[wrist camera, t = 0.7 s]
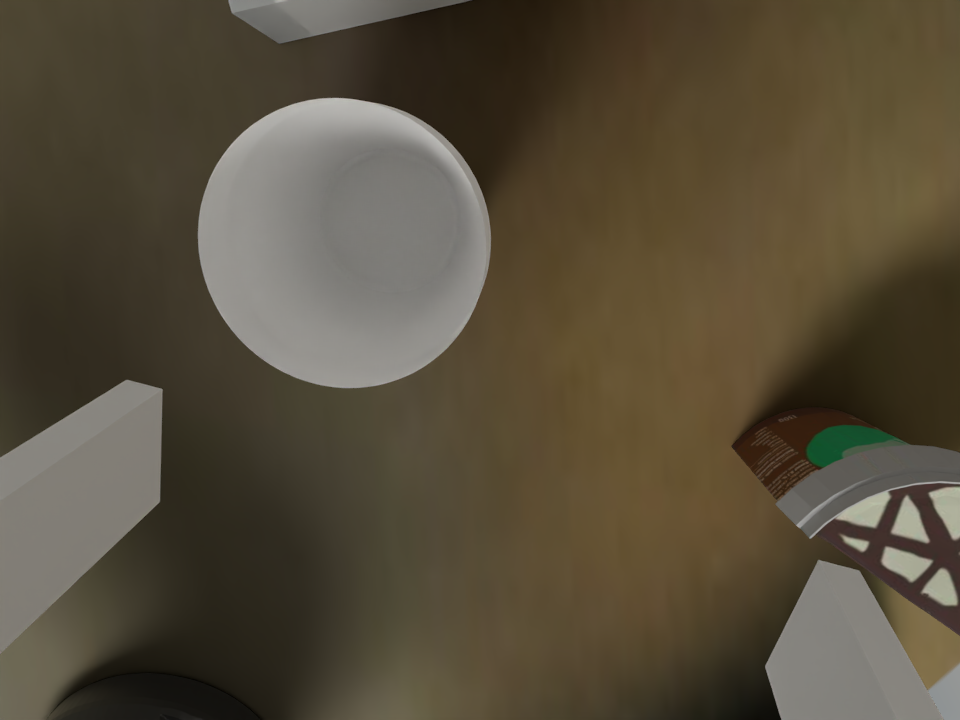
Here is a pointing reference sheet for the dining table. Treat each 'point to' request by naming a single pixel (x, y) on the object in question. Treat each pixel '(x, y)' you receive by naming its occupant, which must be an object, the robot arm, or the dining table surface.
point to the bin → (323, 14)
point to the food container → (867, 499)
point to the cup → (344, 241)
